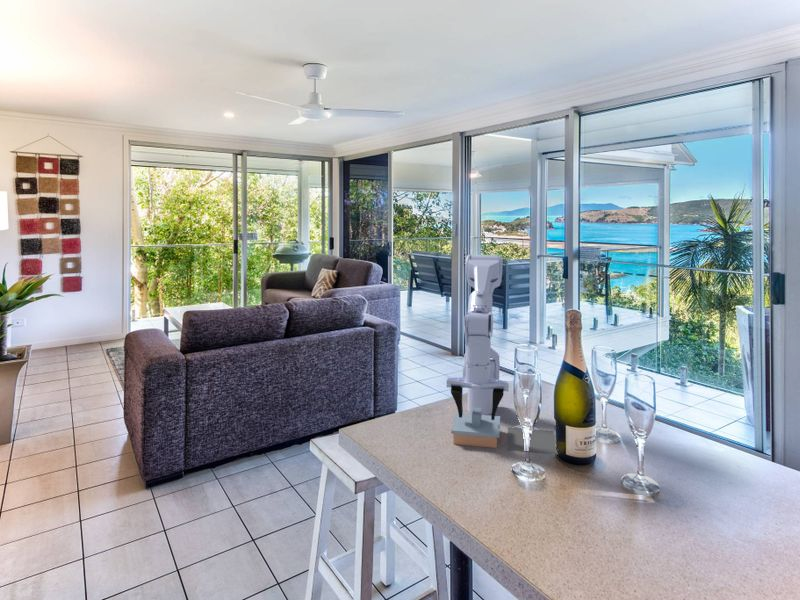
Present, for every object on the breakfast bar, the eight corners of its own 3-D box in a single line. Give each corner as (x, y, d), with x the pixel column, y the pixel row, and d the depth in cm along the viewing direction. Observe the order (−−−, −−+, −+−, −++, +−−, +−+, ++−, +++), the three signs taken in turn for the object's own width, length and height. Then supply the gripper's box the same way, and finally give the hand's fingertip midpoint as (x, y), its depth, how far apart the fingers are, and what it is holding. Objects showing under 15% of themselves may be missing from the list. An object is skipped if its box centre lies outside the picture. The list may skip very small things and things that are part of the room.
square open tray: (457, 429, 125) (457, 416, 125) (497, 433, 123) (498, 420, 123) (453, 447, 116) (453, 432, 115) (496, 451, 113) (497, 436, 113)
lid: (456, 415, 125) (456, 401, 125) (500, 419, 123) (500, 404, 122) (451, 433, 115) (451, 418, 114) (499, 437, 112) (499, 421, 112)
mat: (507, 430, 125) (508, 427, 125) (553, 433, 123) (553, 430, 123) (507, 453, 112) (507, 449, 112) (558, 457, 110) (558, 454, 110)
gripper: (445, 365, 114) (444, 421, 116) (509, 369, 111) (507, 426, 113) (448, 357, 121) (448, 410, 123) (509, 360, 118) (507, 414, 120)
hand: (476, 417), depth 119 cm, fingers open, 7 cm apart
